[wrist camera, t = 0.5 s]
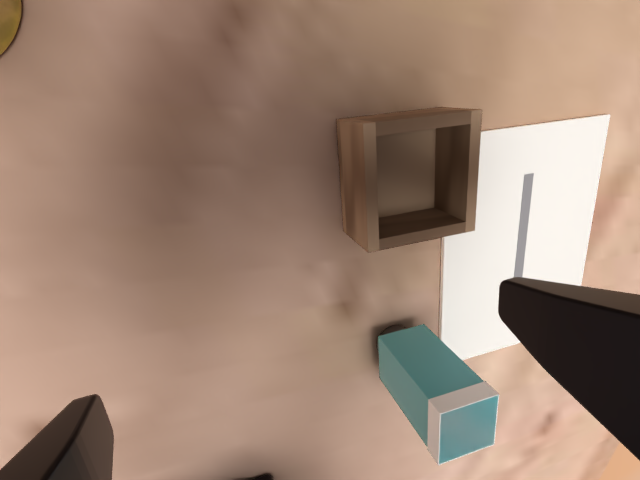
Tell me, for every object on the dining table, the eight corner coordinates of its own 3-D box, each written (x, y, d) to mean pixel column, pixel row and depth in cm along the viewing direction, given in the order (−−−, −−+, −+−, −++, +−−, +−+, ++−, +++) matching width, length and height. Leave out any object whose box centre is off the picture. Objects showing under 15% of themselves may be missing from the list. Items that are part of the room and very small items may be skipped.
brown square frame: (438, 213, 25) (474, 230, 22) (343, 231, 23) (368, 252, 20) (440, 107, 23) (482, 109, 20) (336, 119, 21) (363, 123, 18)
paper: (570, 324, 32) (574, 326, 32) (437, 364, 29) (440, 367, 29) (605, 114, 26) (610, 114, 26) (444, 136, 23) (448, 136, 23)
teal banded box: (415, 355, 28) (494, 444, 21) (371, 367, 27) (438, 465, 20) (415, 314, 27) (499, 394, 20) (369, 325, 26) (439, 413, 19)
